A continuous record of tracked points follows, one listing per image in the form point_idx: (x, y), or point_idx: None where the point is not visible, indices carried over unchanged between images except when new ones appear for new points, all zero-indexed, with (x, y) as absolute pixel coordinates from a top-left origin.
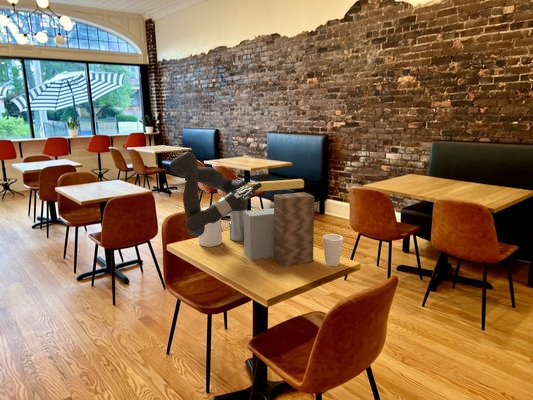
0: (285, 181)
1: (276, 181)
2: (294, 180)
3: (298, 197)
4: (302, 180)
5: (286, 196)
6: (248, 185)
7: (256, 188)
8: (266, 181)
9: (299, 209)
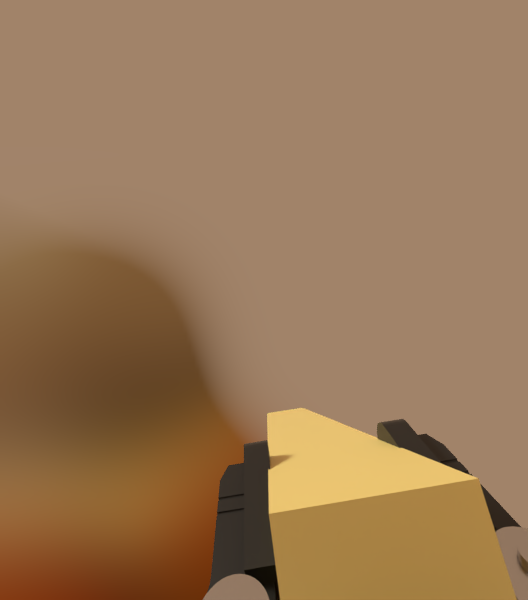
0: (314, 414)
1: (297, 422)
2: (295, 412)
3: None
4: (303, 408)
5: None
6: (349, 581)
7: None
8: (270, 437)
9: None
